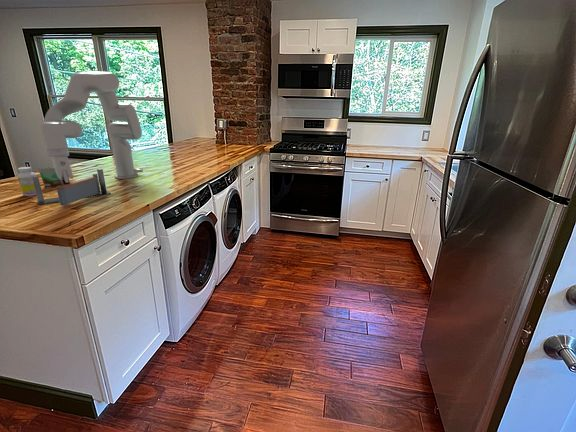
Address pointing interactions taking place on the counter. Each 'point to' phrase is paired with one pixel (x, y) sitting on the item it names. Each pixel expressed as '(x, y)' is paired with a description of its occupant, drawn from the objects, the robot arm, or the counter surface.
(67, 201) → the gate
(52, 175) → the food container
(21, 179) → the supplement bottle
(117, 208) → the counter surface
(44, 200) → the gate frame
